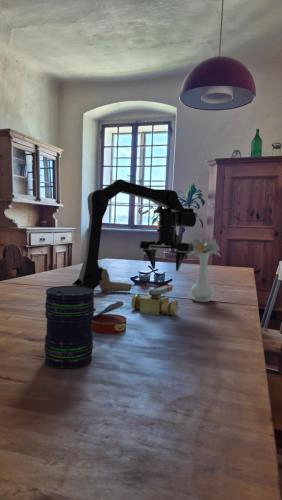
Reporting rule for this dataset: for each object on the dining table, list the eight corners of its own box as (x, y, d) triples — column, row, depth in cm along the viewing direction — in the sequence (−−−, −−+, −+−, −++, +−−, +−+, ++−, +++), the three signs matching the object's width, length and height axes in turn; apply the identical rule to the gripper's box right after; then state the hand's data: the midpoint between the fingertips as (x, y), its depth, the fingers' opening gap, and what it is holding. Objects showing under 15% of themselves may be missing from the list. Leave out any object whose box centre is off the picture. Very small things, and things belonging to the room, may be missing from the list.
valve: (170, 318, 107) (171, 300, 107) (129, 310, 115) (130, 294, 114) (179, 313, 113) (179, 296, 113) (139, 306, 121) (140, 291, 120)
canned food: (100, 351, 89) (83, 320, 87) (95, 335, 99) (80, 307, 96) (138, 331, 91) (123, 300, 88) (129, 317, 101) (116, 288, 98)
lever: (157, 296, 111) (157, 291, 111) (146, 295, 113) (147, 290, 113) (173, 290, 122) (173, 286, 122) (163, 289, 124) (163, 285, 124)
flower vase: (212, 295, 145) (215, 237, 144) (222, 305, 127) (225, 239, 125) (181, 294, 146) (184, 236, 144) (187, 304, 127) (190, 237, 125)
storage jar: (72, 348, 78) (73, 284, 77) (102, 360, 72) (104, 290, 71) (34, 360, 70) (35, 289, 69) (64, 375, 64) (66, 297, 63)
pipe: (132, 294, 143) (133, 270, 143) (93, 293, 141) (93, 269, 140) (131, 291, 150) (131, 268, 149) (93, 290, 147) (93, 267, 146)
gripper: (199, 227, 124) (197, 269, 125) (153, 225, 132) (152, 265, 134) (188, 227, 114) (186, 273, 115) (139, 225, 123) (138, 268, 124)
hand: (165, 269), depth 122 cm, fingers open, 9 cm apart
